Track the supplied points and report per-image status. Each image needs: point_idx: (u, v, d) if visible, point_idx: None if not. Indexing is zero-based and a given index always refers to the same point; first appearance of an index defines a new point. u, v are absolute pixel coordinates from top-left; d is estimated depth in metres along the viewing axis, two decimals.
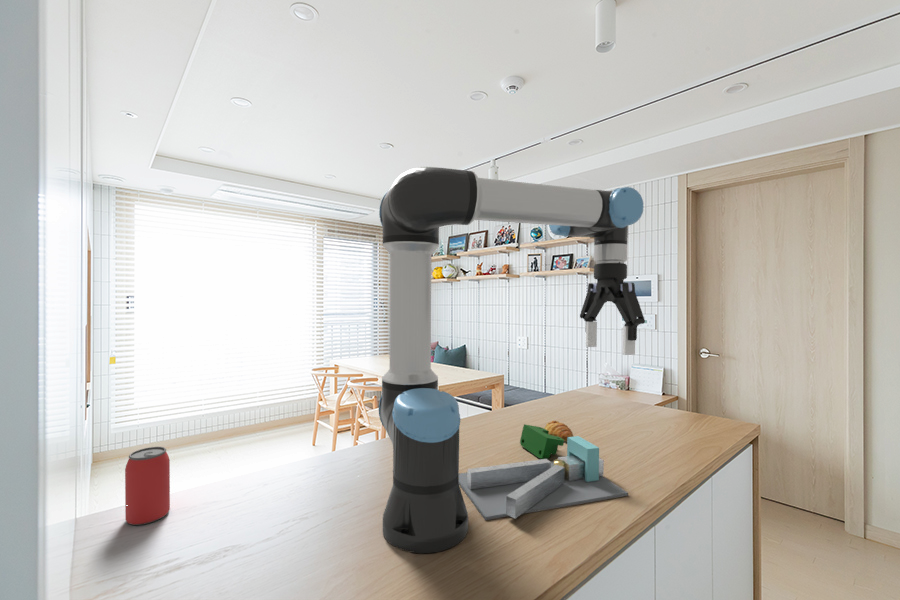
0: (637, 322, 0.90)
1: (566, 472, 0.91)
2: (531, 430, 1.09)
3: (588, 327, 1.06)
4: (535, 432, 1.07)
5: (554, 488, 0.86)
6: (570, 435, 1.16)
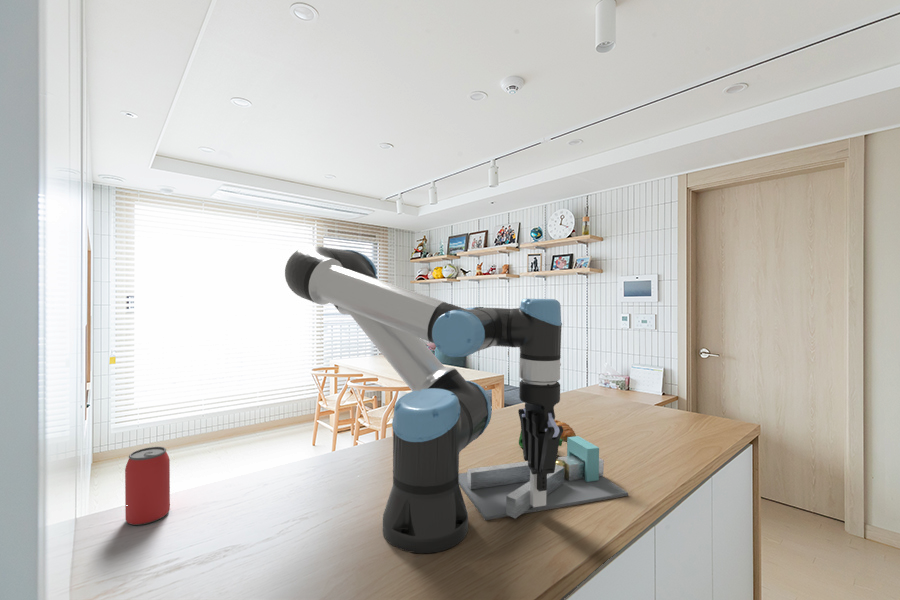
0: (544, 474, 0.75)
1: (566, 472, 0.91)
2: None
3: None
4: None
5: (554, 488, 0.86)
6: (573, 434, 1.17)
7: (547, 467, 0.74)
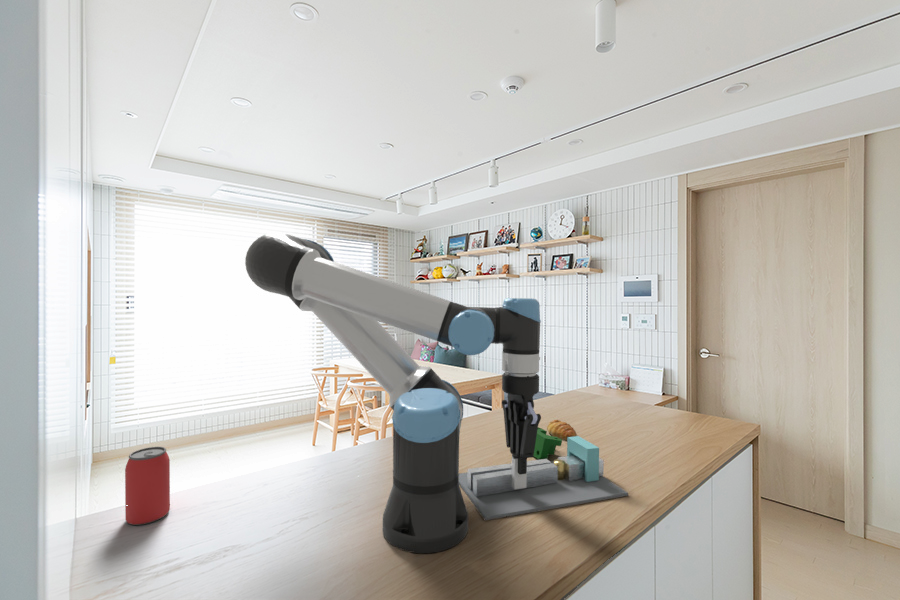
0: (523, 458, 0.82)
1: (566, 472, 0.91)
2: None
3: None
4: None
5: (540, 484, 0.88)
6: (574, 434, 1.17)
7: (527, 452, 0.81)
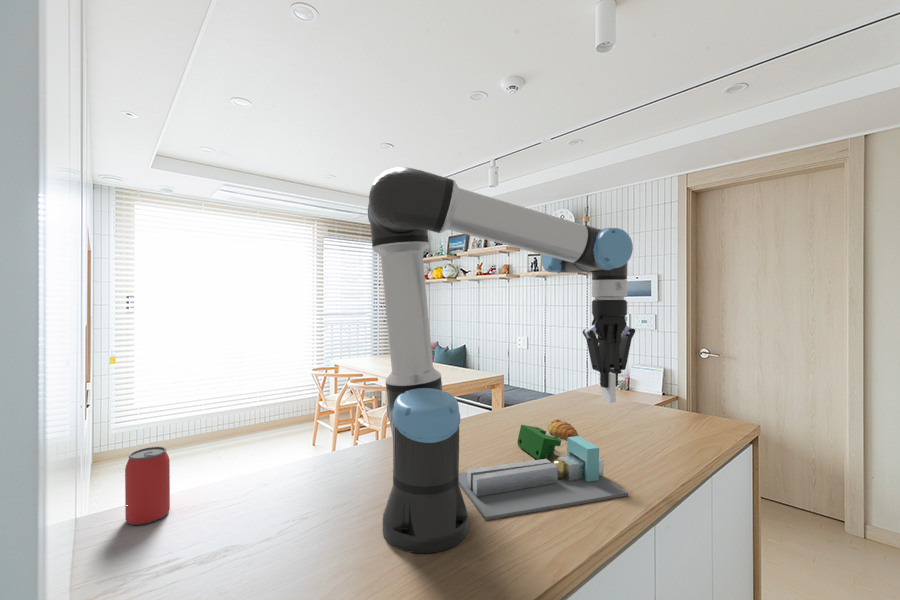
0: (595, 369, 0.94)
1: (566, 472, 0.91)
2: (528, 430, 1.09)
3: None
4: (532, 432, 1.07)
5: (540, 483, 0.88)
6: (575, 433, 1.17)
7: (593, 364, 0.94)
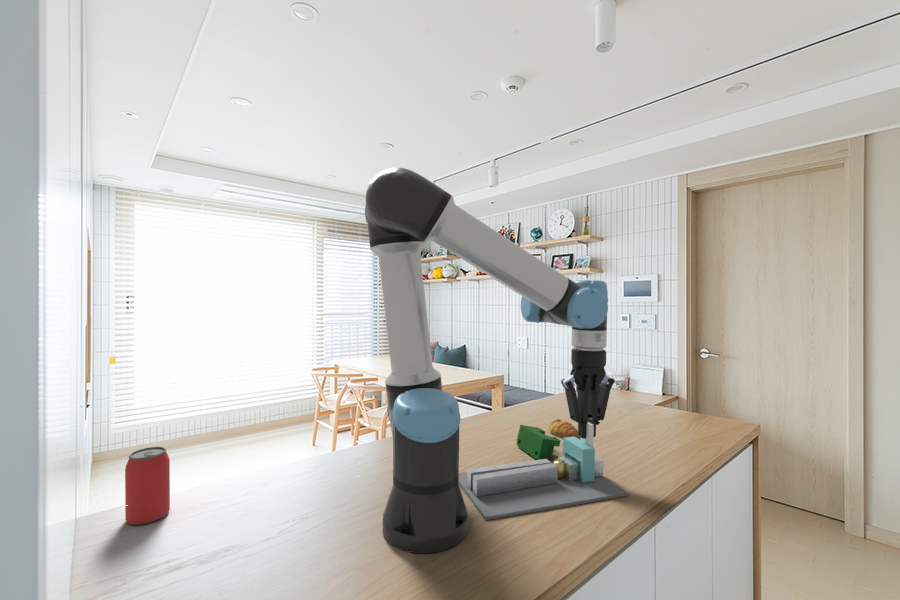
0: (573, 419, 0.93)
1: (566, 472, 0.91)
2: (527, 431, 1.09)
3: None
4: (531, 433, 1.07)
5: (540, 483, 0.88)
6: (576, 433, 1.18)
7: (571, 414, 0.93)
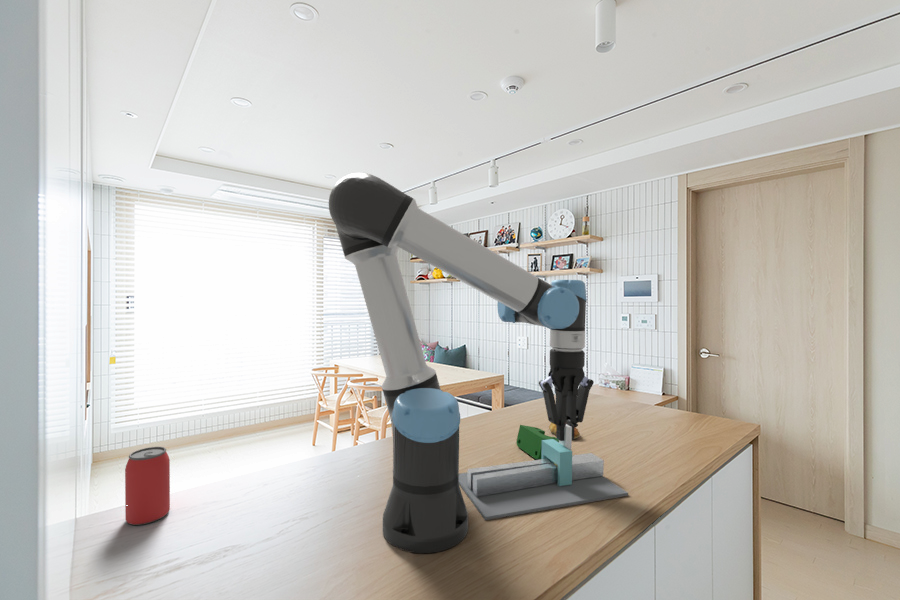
0: (551, 422, 0.92)
1: None
2: (527, 431, 1.09)
3: None
4: (531, 433, 1.07)
5: (540, 483, 0.88)
6: (577, 432, 1.18)
7: (549, 416, 0.91)
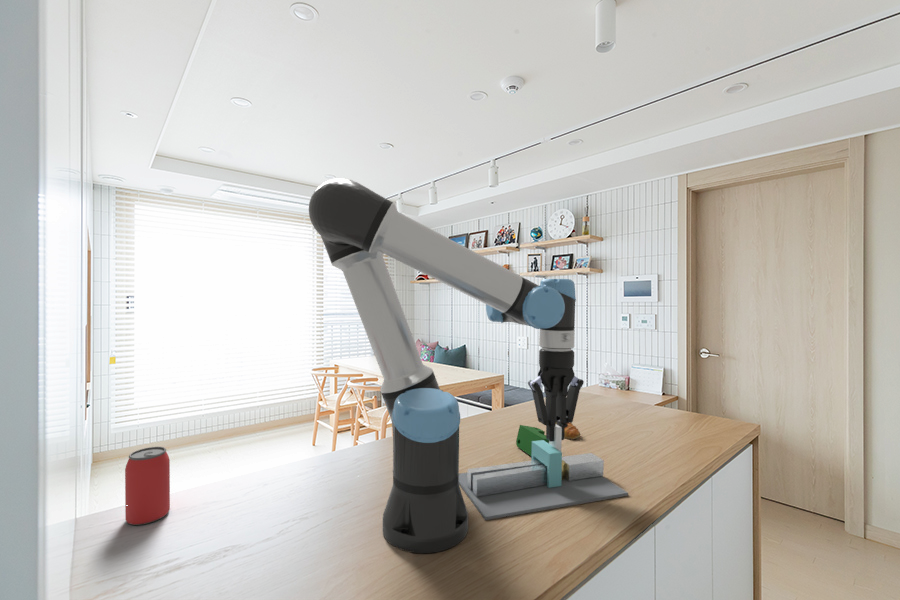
0: (540, 422, 0.91)
1: (566, 472, 0.91)
2: (527, 431, 1.09)
3: None
4: (531, 433, 1.07)
5: (540, 483, 0.88)
6: (577, 432, 1.18)
7: (539, 416, 0.90)
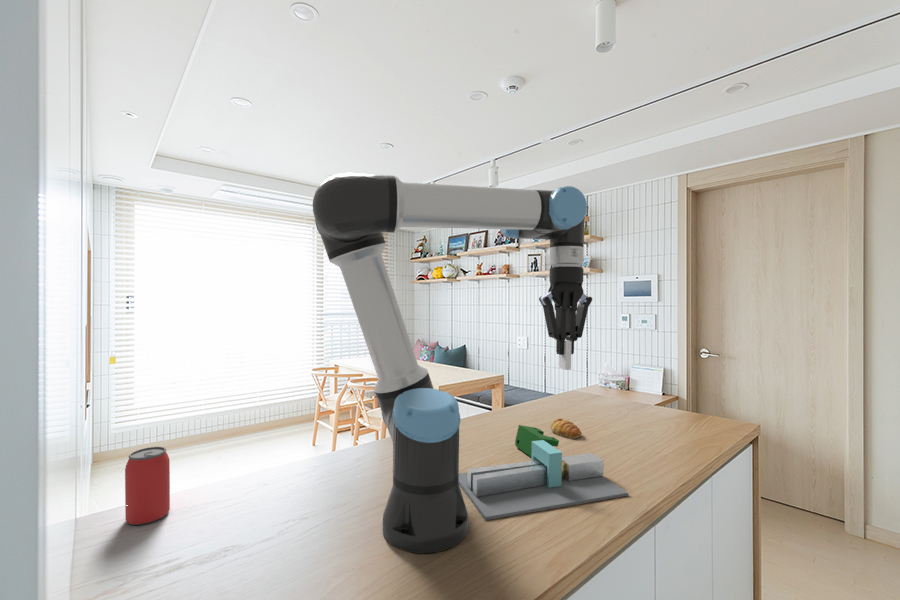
0: None
1: (566, 472, 0.91)
2: (526, 431, 1.08)
3: None
4: (530, 433, 1.07)
5: (540, 483, 0.88)
6: (579, 432, 1.19)
7: (549, 331, 0.94)
